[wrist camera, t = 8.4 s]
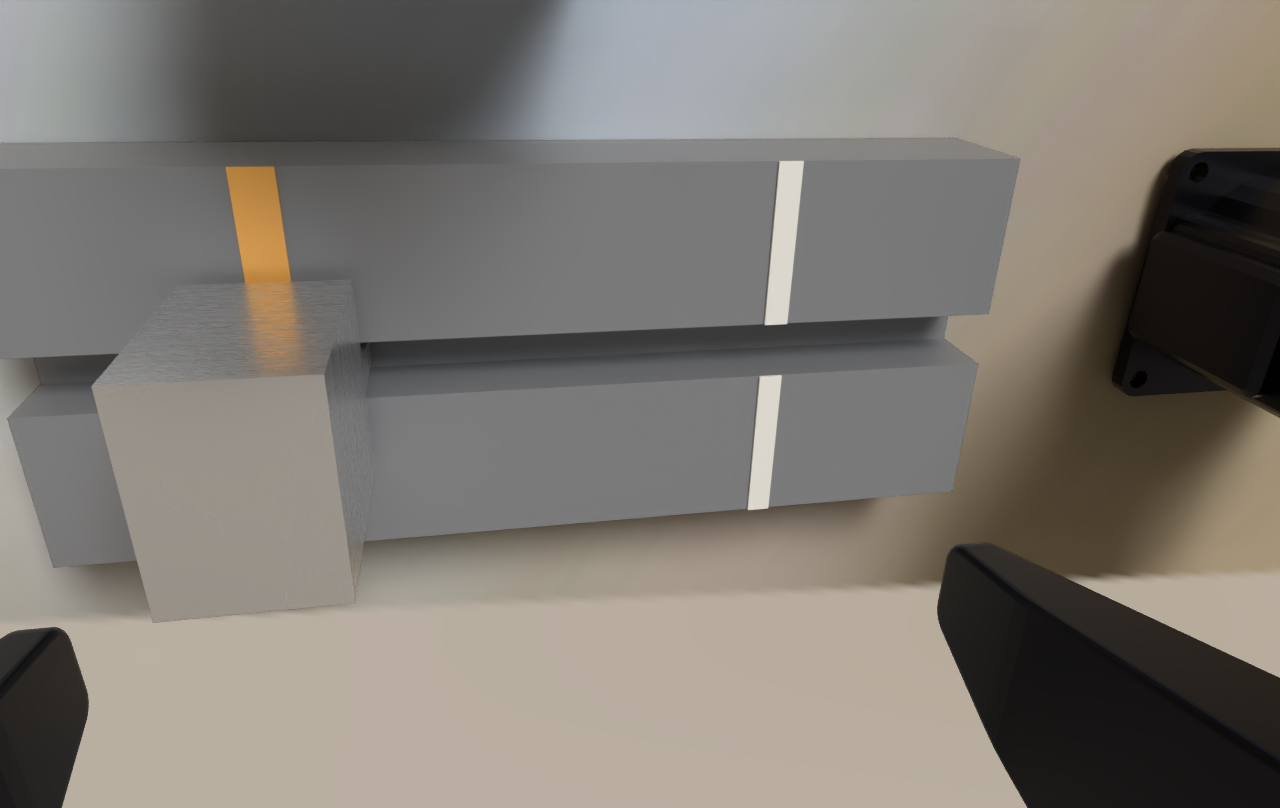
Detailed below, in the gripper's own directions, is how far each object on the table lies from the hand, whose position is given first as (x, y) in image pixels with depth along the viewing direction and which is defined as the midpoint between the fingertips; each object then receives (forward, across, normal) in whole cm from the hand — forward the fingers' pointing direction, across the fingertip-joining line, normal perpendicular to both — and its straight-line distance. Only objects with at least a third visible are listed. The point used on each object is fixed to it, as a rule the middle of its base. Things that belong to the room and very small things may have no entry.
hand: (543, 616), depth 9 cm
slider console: (+12, -1, +1) cm, 12 cm away
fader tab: (+11, +4, +1) cm, 12 cm away
